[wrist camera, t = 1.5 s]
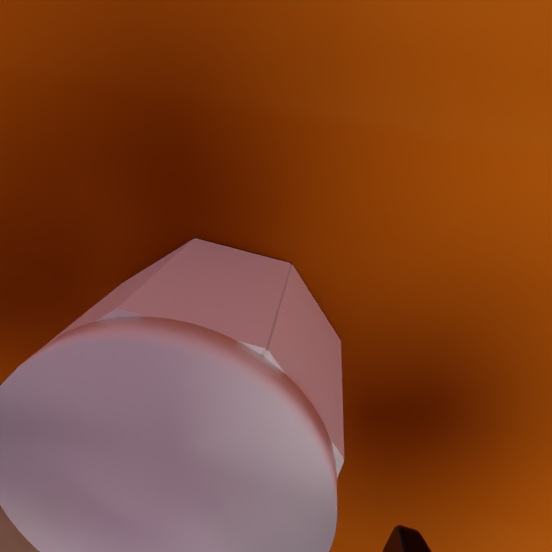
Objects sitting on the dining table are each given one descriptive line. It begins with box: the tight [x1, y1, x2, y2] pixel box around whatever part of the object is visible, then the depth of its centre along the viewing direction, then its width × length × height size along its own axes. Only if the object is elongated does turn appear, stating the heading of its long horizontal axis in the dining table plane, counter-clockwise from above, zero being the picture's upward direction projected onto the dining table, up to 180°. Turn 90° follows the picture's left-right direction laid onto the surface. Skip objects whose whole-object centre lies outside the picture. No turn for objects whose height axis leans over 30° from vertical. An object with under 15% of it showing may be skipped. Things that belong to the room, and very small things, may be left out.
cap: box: [0, 238, 344, 552], centre depth 10 cm, size 7×7×5 cm
